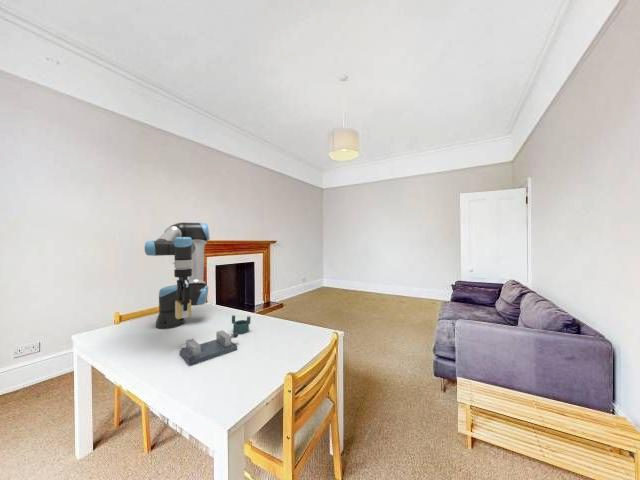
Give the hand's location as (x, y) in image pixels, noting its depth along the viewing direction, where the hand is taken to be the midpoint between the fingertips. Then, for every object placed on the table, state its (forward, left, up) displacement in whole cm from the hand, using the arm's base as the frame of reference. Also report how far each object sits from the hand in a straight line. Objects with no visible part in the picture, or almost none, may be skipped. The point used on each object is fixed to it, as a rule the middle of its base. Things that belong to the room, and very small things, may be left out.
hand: (183, 315), depth 121 cm
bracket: (+2, +30, -15) cm, 33 cm away
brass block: (0, 0, 0) cm, 0 cm away
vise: (+15, +7, -15) cm, 22 cm away
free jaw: (+15, +17, -13) cm, 26 cm away
